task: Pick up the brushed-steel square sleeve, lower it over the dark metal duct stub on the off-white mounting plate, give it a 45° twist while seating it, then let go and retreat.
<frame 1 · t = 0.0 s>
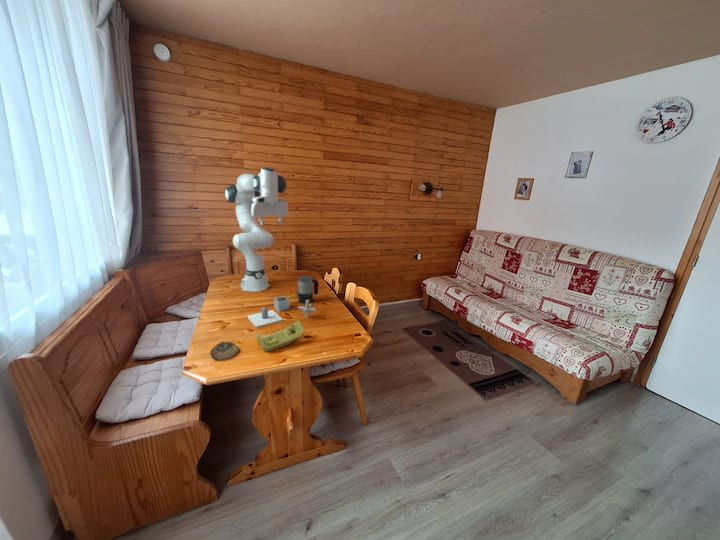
hand: (270, 224, 154), 48 cm above the table, fingers open, 8 cm apart
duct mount: (265, 319, 148), on the table
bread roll: (225, 353, 117), on the table
pipe connector: (307, 317, 153), on the table
plastic component: (281, 342, 128), on the table
milk frother: (303, 298, 178), on the table
sleeve: (281, 308, 162), on the table
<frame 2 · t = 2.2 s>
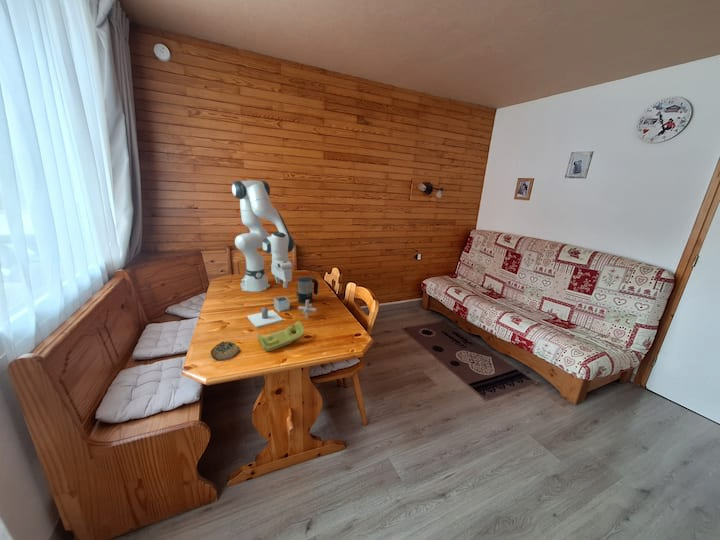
hand: (281, 285, 157), 15 cm above the table, fingers open, 8 cm apart
nothing on the table moved.
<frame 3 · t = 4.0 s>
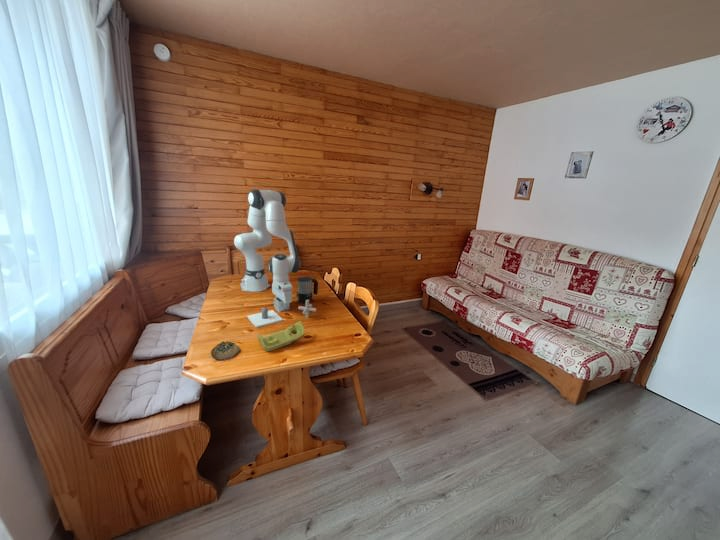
hand: (281, 305, 161), 2 cm above the table, fingers closed on sleeve, 7 cm apart
sleeve: (281, 308, 162), on the table, touching gripper
everything else where it was.
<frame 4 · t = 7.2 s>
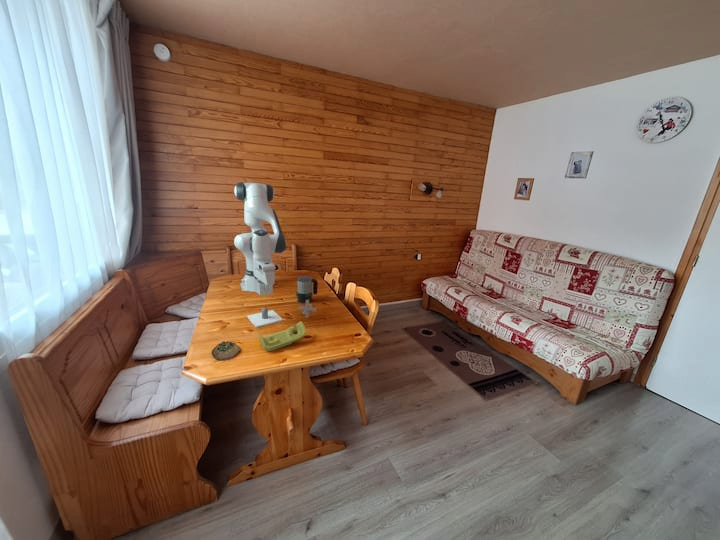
hand: (264, 288, 143), 17 cm above the table, fingers closed on sleeve, 7 cm apart
sleeve: (264, 292, 144), point 15 cm above the table, touching gripper
everything else where it was.
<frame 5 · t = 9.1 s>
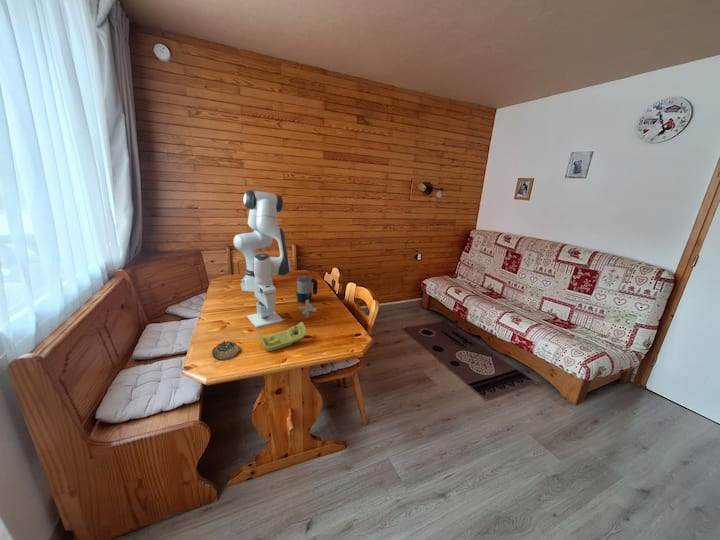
hand: (264, 310, 146), 5 cm above the table, fingers closed on sleeve, 7 cm apart
sleeve: (265, 313, 147), point 3 cm above the table, touching gripper
when the fingers open (4 cm above the table, at t = 10.5 s): sleeve stays where it is, resting on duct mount.
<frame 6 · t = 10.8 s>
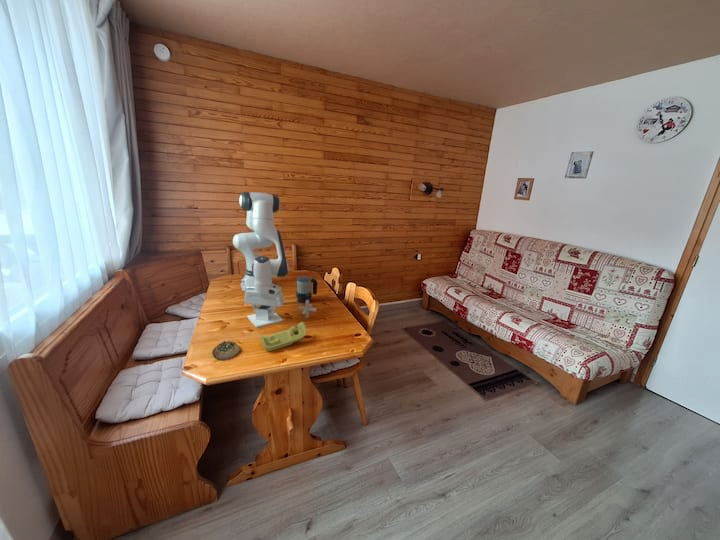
hand: (264, 312, 147), 4 cm above the table, fingers open, 8 cm apart
sleeve: (265, 317, 148), point 1 cm above the table, touching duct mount
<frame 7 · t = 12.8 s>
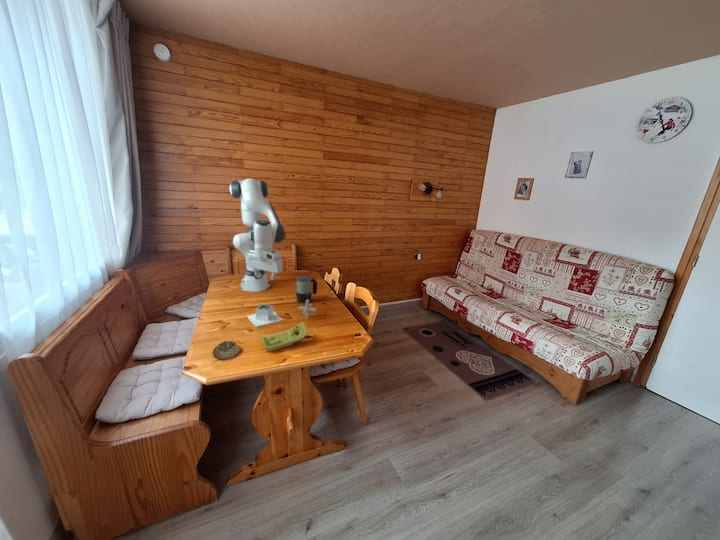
hand: (264, 277, 146), 22 cm above the table, fingers open, 8 cm apart
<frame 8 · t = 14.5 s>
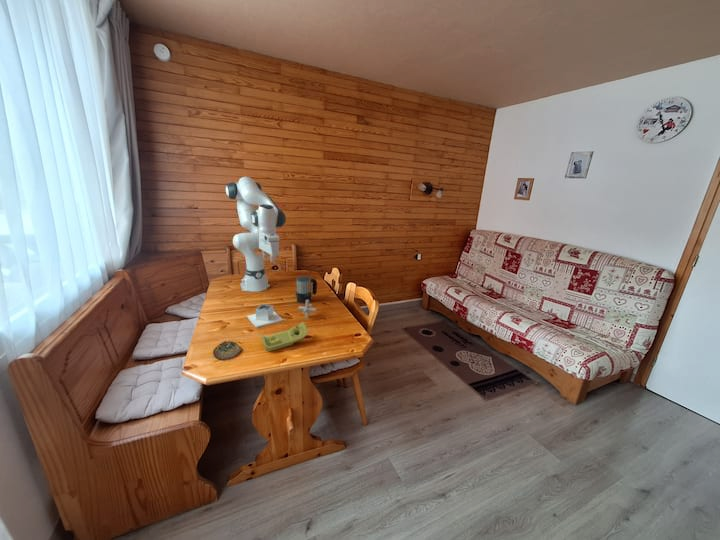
hand: (268, 260, 153), 29 cm above the table, fingers open, 8 cm apart
at the end: sleeve 0.1 cm off-centre on the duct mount, point 1.0 cm above the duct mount's base; sleeve tilted 0°; the gripper is holding nothing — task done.
